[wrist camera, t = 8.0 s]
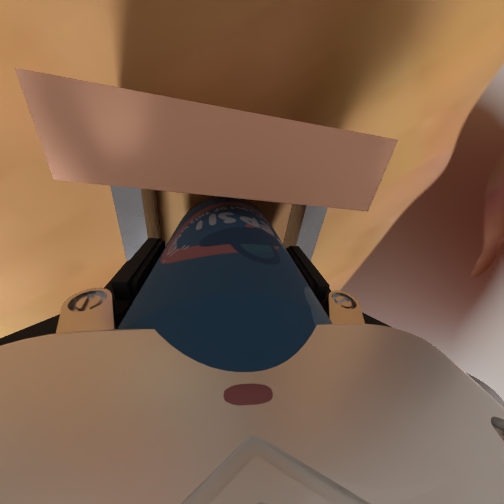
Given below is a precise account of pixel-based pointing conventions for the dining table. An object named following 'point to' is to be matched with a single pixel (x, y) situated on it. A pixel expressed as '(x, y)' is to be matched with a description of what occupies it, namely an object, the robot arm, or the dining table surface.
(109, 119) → the stop block
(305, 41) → the dining table surface
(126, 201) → the guide channel
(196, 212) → the soda can
